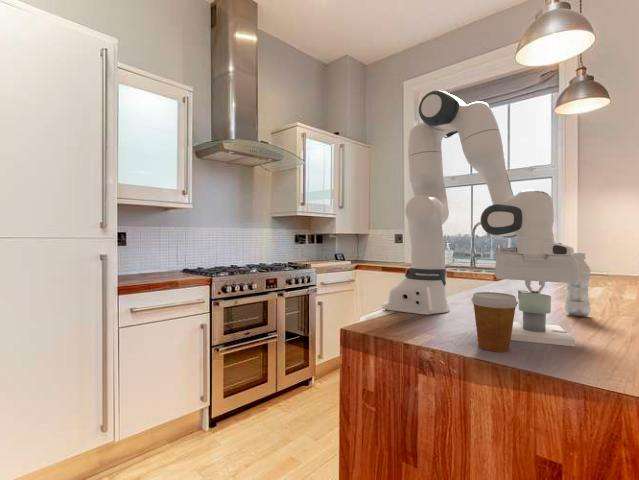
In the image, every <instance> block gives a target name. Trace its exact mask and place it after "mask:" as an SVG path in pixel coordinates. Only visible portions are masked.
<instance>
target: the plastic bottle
mask: <svg viewBox="0 0 639 480" xmlns="http://www.w3.org/2000/svg"><path fill="white" fill-rule="evenodd" d="M572 256H574V257H575V258H576V260H577V263H578V267H579V275H580V281H579V282H577V283H566V299H565V302H564V311H565V312H566V314H567V315H570V316H573V317H578V318H579V317H588V316H589V315H590V314H591V303H590V298H589V296H590V295H589V281H590V277H591V271H592V270H591V267H590V266H589V265H588V263H587V262H586V261H585V260H586V253H584V252H574V253H573V254H572Z"/></svg>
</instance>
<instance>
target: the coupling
mask: <svg viewBox="0 0 639 480" xmlns="http://www.w3.org/2000/svg"><path fill="white" fill-rule="evenodd" d="M517 292H518V293H517V298H518V299H517V300H518V310H519V311H521V312H522V313H523V312H528V313H536V314H546V315H547V314H551V309H552V308H551V306H552V305H551V304H552V296H551V295H549V294H544V293H541V294H537V293H530V291H529V290H523V289H520V290H517Z"/></svg>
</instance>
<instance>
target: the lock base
mask: <svg viewBox="0 0 639 480" xmlns="http://www.w3.org/2000/svg"><path fill="white" fill-rule="evenodd" d="M546 318H547V314H536V313H528V312H523V311H522V322H521V321H513V327H512V334H511V340H510V341H516V342H525V343H535V344H536V343H537V344H545V345H547V344H548V345H554V346H557V345H558V346H565V347H576V339H575V338H573V337H572V335H570V333H568V331H567V330H565V329H563V328H562V327H561V326H560V325H557V324H547V323H546V322H547V319H546Z"/></svg>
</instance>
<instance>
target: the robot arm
mask: <svg viewBox="0 0 639 480" xmlns="http://www.w3.org/2000/svg"><path fill="white" fill-rule="evenodd" d="M418 115H419V117H420V119H421V120H422V122H421V123H418V124H416V125H414V126H413V127H412V128H411V129H410V131H409V138H408V151H407V153H408V155H407V156H408V171H409V172H408V173H409V182H410V184H411V189H412V193H413V197H411V198H410V199H409V200H408V202H407V204H406V206H405V211H404V212H405V216H406V218H407V225H408V231H409V238H410V245H411V246H410V247H411V249H410V250H411V251H410V252H411V255H410V256H411V257H410V258H411V260H410V261H411V265H410V267H406V268H405V270H404V275H405V276H404V277H405V278H404V279H403V280H401V281H400V282H399V283H397V284H396V285H395V286H393V287H392V288H391V289H390V292H389V295H388V300H386V301H383V303H382V304H381V308H382V309H383V310H387V311H394V312H401V313H402V312H403V313H410V314H411V313H412V314H418V315H426V316H427V315H432V314H443V313H448V312H450V310H451V309H450V306H449V302H448V297H447V291H446V286H447V275H448V273H447V268H446V244H445V241H444V240H445V239H444V233H443V225H444V224H445V223H446V221H447V220H448V218H449V214H450V213H449V206H448V203H449V202H448V197H447V191H446V186H445V185H446V183H445V179H444V166H443V152H442V151H443V149H442V142H443V141H442V140H443V139H448V138H450V137H453V136H454V135H456V134H458V136H459V141H460V145H461V149H462V153H463V155H464V158H465V159H466V161H467V163H468V164H469V166H470V167H472V168H473V169H474V170H475V171H476V172H477V173H478V174H479V175H480V176H481V177H482V178H483V180H484V181H485V183H486V186H487V188H488V192H489V196H490V199H491V203H492V205H489V206H487V207H486V208H485V209H483V211H482V213H481V216H480V226H481V227H482V229H483V230H484V231H485V233H487V234H489V235H492V236H493V237H494V236H495V237H503V238H505V239H512V238H516V247H499V248H497V249H496V250H495V251H494V253H493V258H494V261H495V267H494V277H495V278H497V279H498V280H509V281H510V280H513V281H524V285H525V287H526V289H528V290H527V291H528V292H529V293H537V294H542V291H543V289H544V288H545V286H546V283H562V284H567V283H577V282H579V281H580V275H579V267H578V263H577V260H576V258H575V257H574V256H572V254H573V253H575V250H574V247H573V246H569V245H566V244H563V243H561V242H555V240H554V239H555V234H554V232H553V225H554V223H555V222H554V221H555V215H554V203H553V198H552V196H551V195H550V194H548V193H547V192H545V191H542V190H535V189H523V190H521V191H519V192H518V193H517V194H515V195H514V193H513V189H512V187H511V183H510V179H509V176H508V172H507V168H506V167H507V166H506V161H505V154H504V147H503V141H502V135H501V132H500V128H499V124H498V123H497V119H496V116H495V115H494V112H493V111H492V108H491V107H490V106H489V104H488V103H487V102H484V101H474V102H471V103H466V102H464V101H463V100H462V99H461V98H459V97H457V96H455V95H453V94H450V93H449V92H447V91H446V90H445V91H444V90H439V89H438V90H432V91H429V92H428V93H426V94H425V95H424V96H423V97H422V99H421V101H420V102H419V106H418ZM497 279H496V280H497ZM532 282H538V286H540V287H539V288H538V290H536V289H535V290H534V289H533V288H532V287H531V285H532Z"/></svg>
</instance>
